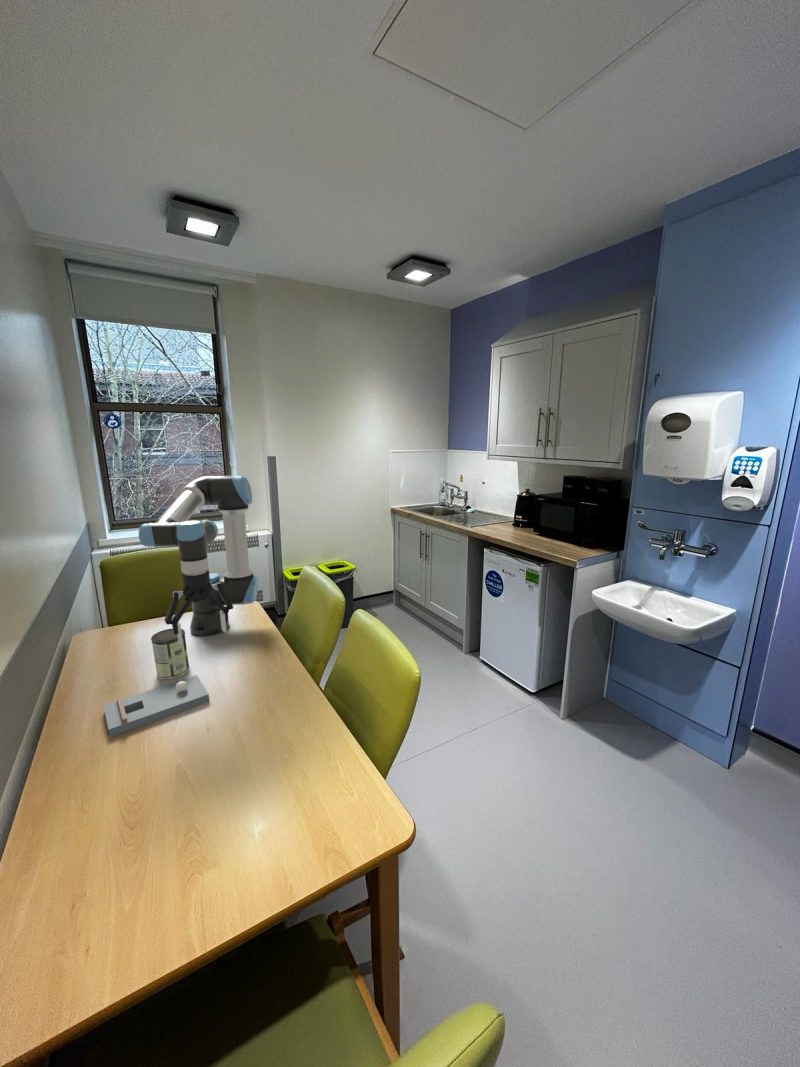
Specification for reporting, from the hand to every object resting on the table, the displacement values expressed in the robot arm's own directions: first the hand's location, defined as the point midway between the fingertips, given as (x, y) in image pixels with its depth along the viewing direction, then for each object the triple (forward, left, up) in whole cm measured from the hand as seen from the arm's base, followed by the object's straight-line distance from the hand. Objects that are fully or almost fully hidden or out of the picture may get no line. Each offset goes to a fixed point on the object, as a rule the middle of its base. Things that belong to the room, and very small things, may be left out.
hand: (202, 636), depth 136 cm
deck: (+15, 0, -19) cm, 24 cm away
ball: (+8, 0, -14) cm, 16 cm away
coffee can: (+7, -19, -19) cm, 28 cm away
